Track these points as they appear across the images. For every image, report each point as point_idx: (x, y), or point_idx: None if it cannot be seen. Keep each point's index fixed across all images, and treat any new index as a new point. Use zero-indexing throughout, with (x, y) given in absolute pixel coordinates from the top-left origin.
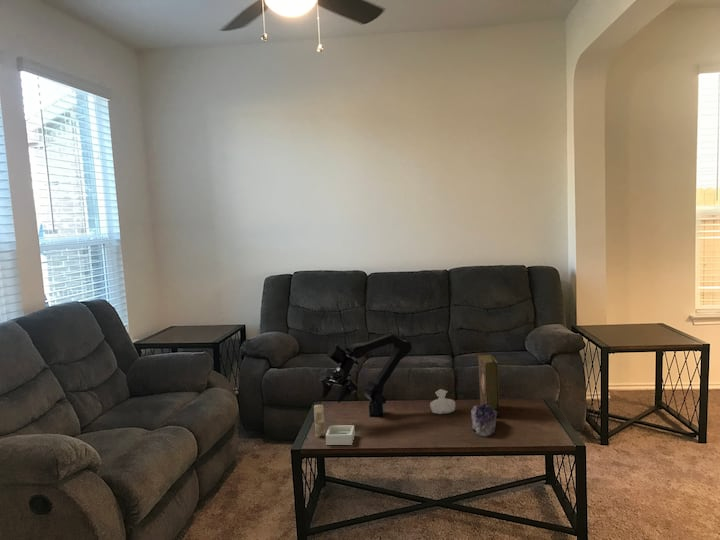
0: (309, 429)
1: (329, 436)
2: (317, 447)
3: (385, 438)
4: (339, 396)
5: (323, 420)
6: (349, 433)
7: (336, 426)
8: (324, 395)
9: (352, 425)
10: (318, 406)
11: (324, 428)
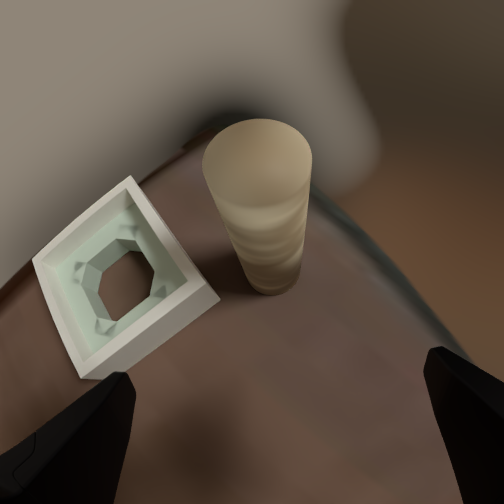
0: (399, 291)
1: (116, 190)
2: (178, 173)
3: (12, 410)
4: (78, 414)
5: (231, 241)
6: (89, 322)
7: (159, 304)
8: (449, 396)
9: (86, 370)
10: (247, 151)
11: (245, 272)
